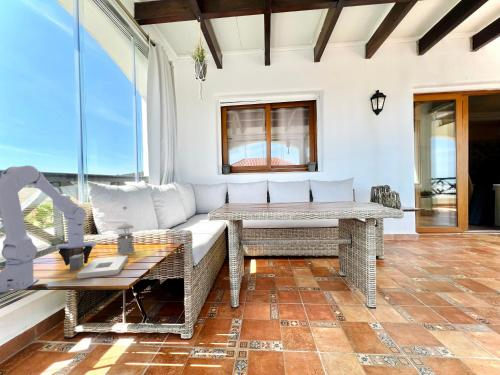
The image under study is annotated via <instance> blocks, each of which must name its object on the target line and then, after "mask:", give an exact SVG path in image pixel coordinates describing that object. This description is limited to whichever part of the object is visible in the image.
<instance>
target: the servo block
mask: <svg viewBox="0 0 500 375" xmlns="http://www.w3.org/2000/svg"><path fill="white" fill-rule="evenodd" d="M69 260H70V263H69V270H79V269H80V268H82V267H83V266H84V253H82V254H79V255H74V256H70V257H69Z"/></svg>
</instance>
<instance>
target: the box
mask: <svg viewBox="0 0 500 375" xmlns="http://www.w3.org/2000/svg"><path fill="white" fill-rule="evenodd" d="M67 243H68V240H67V241H64V242H63V244H67ZM83 249H84V247H82V248H70V253H69V257H72V256H74V255H81V254H84V253H83Z"/></svg>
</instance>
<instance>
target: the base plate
mask: <svg viewBox="0 0 500 375" xmlns="http://www.w3.org/2000/svg"><path fill="white" fill-rule="evenodd" d="M128 260H129V256H128V255H119V256H107V257H97V258H94V259H93V260H92V261H90V262H89V263H87V265H86V266H84V267H83V268H82V269H81V270H80V271H79V272H77V279H79V280H80V279H87V278H97V277H103V276H104V277H105V276H112V275H119V273H120V271H121V270H122V268H123V267H124V266H125V265H126V264H127V262H128Z"/></svg>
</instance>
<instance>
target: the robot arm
mask: <svg viewBox="0 0 500 375" xmlns="http://www.w3.org/2000/svg"><path fill="white" fill-rule="evenodd" d="M26 186H32V187H36V188H37V189H39V191H41V192H42V193H43V194H45V195H46V196H48V197H49V198H50V199H51V200H52V205H53V206H54V207H56V208H57V209H58V210H59V211H60V212H61V213H63V217H64V218H65V219H67V241H68V243H67V244H64V243H61V244H59V243H58V244H57V245H55V250H56V251H58V254H59V255H60V256H61V258H62V260H63V263H64V266H70V260H69V258H70V256H69V253H70V248H82V247H83V253H82V254H83V262H84V264H85V265H86V264H88V262H89V257H90V254H91V252H92V250H93V248H95V247H96V245H97V244H96V241H85V234H84V233H85V229H84V227H85V224H84V222H85V219H86V217H87V212H86V210H85V209H84V208H83V207H81V206H80V207H79V204H78V203H75V202H74V201H73V199H72V198H71V196H70V195H67V194H61V193H60V191H58V190H57V189H56V188H55V187H54V186H53V185H52V183H50V182H49V181H48V179H47V178H45V176H44V174H43V172H41V171H39V169H37V168H36V167H35V166H33V165H22V166H10V167H7V168H6V169H5V170H3V171H2V172H1V173H0V217H1V221H2V226H3V230H4V234H5V239H4V240H3V241H2V245H3V246H2V249H1V257H3V258H4V259H5V266H4V268H3V269H1V270H0V293H6V292H15V291H24V290H26V289H28V288H29V287H30V286H32V285H33V284H35V283H36V282H38V281H39V280H40V278H39V277H37V278H34V258H35V257H36V255H37V254H38V248H37V246H36V244H34V243H33V239H32V238H31V237H30V236H29V235H28V233H27V229H26V225H25V219H24V214H23V211H22V205H21V201H20V197H19V192H20V191H21V190H23V189H24V188H25V187H26ZM10 289H13V290H10Z"/></svg>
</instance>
